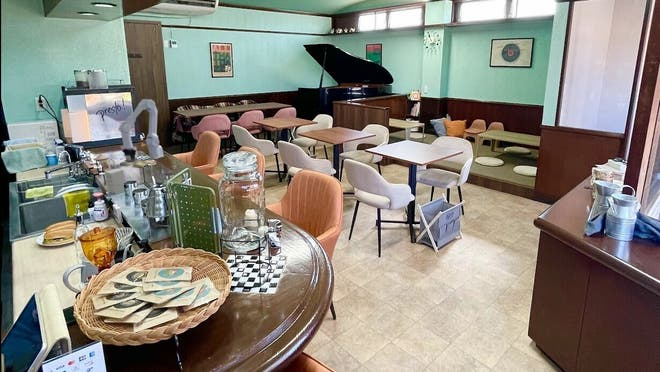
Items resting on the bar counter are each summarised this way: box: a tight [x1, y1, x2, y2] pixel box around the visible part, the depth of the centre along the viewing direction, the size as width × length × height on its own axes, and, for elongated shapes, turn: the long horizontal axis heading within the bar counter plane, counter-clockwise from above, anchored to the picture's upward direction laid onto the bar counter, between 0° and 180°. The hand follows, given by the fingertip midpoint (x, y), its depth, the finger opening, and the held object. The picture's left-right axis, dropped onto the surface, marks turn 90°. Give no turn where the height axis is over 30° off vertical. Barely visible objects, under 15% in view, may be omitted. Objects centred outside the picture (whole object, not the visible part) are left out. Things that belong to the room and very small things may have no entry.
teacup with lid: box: [93, 153, 116, 170], centre depth 279 cm, size 12×9×12 cm
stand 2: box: [132, 159, 158, 168], centre depth 290 cm, size 12×10×2 cm
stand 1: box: [119, 158, 144, 167], centre depth 296 cm, size 12×10×2 cm
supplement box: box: [104, 168, 127, 195], centre depth 230 cm, size 7×7×13 cm
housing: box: [123, 153, 138, 162], centre depth 295 cm, size 7×4×5 cm, turn 154°
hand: (131, 159), depth 295 cm, fingers closed on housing, 4 cm apart
